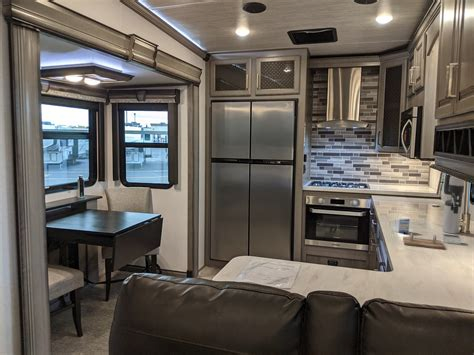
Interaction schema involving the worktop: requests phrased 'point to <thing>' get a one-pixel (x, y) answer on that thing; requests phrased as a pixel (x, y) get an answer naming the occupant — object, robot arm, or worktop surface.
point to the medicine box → (401, 225)
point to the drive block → (451, 239)
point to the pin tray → (423, 242)
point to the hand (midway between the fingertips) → (454, 211)
